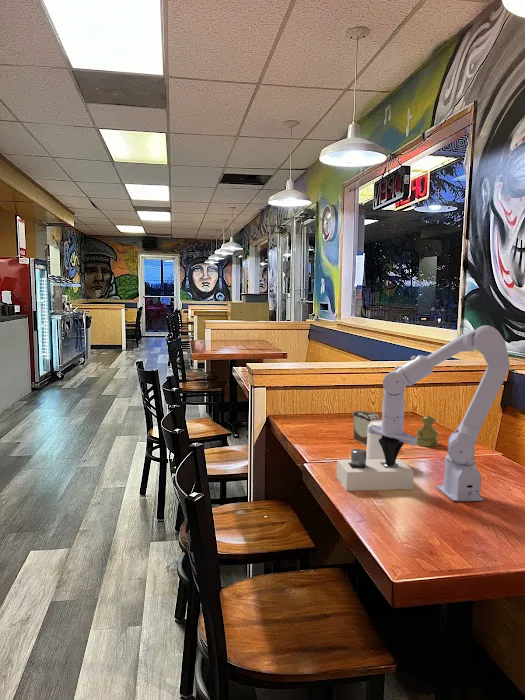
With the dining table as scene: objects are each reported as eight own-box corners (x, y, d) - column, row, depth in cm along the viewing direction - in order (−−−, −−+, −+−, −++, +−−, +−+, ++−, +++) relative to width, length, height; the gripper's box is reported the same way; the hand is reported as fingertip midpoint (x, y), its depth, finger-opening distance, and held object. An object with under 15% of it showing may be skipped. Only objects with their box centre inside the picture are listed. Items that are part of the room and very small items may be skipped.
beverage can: (393, 458, 158) (395, 421, 156) (392, 466, 150) (395, 427, 148) (367, 455, 160) (368, 418, 158) (365, 463, 152) (367, 425, 151)
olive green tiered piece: (416, 446, 171) (418, 417, 170) (415, 440, 179) (416, 413, 177) (439, 448, 170) (441, 419, 169) (436, 442, 177) (438, 414, 176)
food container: (386, 446, 170) (387, 417, 169) (371, 448, 168) (372, 419, 167) (366, 436, 182) (367, 409, 181) (351, 438, 179) (352, 410, 178)
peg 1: (367, 469, 133) (368, 453, 133) (353, 469, 133) (353, 453, 132) (363, 464, 137) (363, 448, 137) (348, 464, 137) (349, 448, 136)
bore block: (412, 489, 132) (413, 471, 132) (346, 490, 130) (347, 472, 130) (398, 475, 142) (399, 458, 141) (336, 477, 140) (337, 459, 140)
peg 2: (399, 483, 135) (400, 466, 134) (385, 483, 134) (385, 467, 134) (393, 477, 139) (394, 462, 138) (380, 477, 138) (380, 462, 138)
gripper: (425, 419, 131) (422, 469, 133) (380, 408, 143) (378, 454, 144) (409, 423, 127) (406, 474, 129) (364, 411, 138) (362, 459, 140)
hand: (390, 464), depth 136 cm, fingers closed, pressing on peg 2
